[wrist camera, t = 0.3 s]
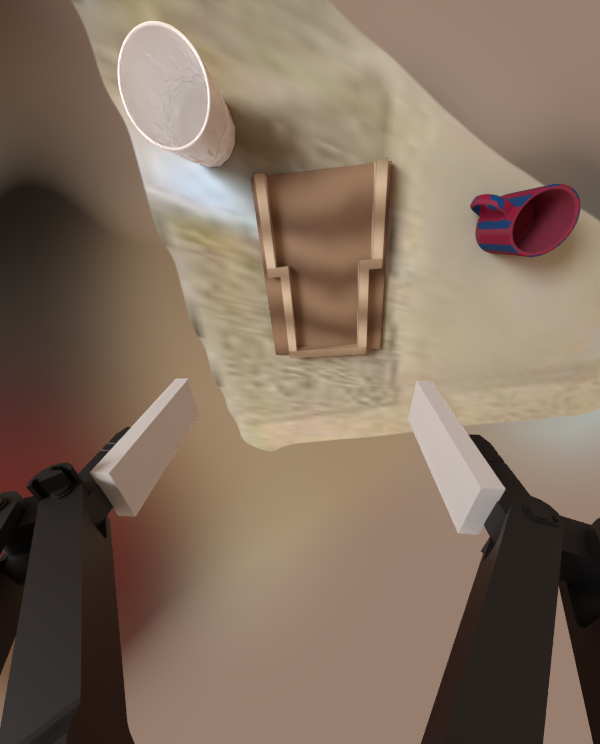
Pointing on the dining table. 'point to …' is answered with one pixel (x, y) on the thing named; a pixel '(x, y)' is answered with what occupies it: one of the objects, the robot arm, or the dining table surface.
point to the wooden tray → (324, 257)
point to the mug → (526, 220)
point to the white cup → (174, 95)
